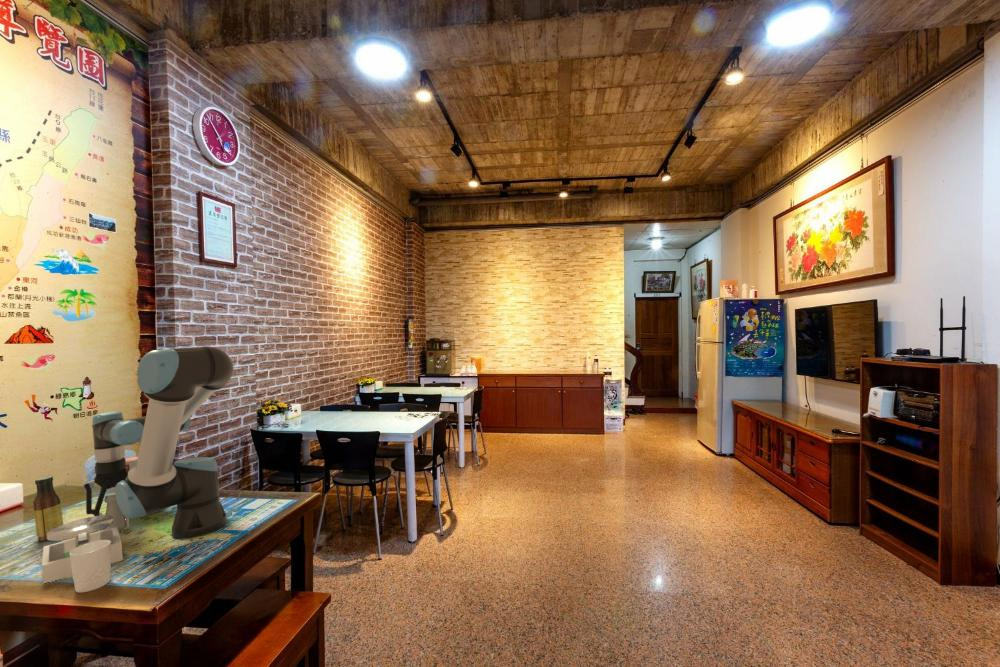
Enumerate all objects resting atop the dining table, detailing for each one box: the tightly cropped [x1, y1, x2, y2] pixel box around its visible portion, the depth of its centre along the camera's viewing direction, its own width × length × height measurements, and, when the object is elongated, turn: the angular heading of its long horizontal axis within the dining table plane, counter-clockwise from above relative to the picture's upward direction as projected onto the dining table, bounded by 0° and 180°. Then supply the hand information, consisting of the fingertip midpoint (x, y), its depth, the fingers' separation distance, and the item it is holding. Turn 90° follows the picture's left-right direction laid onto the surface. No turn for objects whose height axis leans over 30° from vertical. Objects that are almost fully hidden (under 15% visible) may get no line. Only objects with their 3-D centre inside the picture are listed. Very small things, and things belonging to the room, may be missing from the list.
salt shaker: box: [103, 493, 127, 534], centre depth 146 cm, size 6×6×13 cm
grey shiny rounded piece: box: [47, 514, 114, 548], centre depth 127 cm, size 18×14×6 cm
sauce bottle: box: [32, 475, 64, 542], centre depth 145 cm, size 7×6×20 cm
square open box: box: [41, 527, 124, 585], centre depth 127 cm, size 17×16×10 cm
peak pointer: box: [78, 538, 88, 545], centre depth 121 cm, size 2×2×1 cm
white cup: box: [69, 540, 112, 593], centre depth 115 cm, size 8×8×10 cm
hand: (115, 528), depth 146 cm, fingers closed on salt shaker, 6 cm apart
